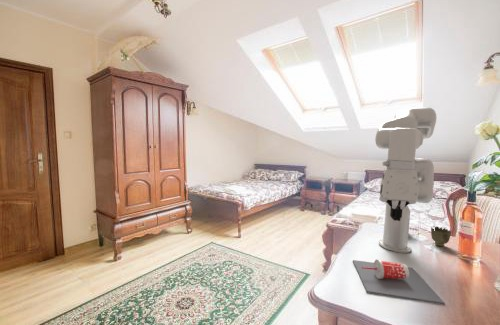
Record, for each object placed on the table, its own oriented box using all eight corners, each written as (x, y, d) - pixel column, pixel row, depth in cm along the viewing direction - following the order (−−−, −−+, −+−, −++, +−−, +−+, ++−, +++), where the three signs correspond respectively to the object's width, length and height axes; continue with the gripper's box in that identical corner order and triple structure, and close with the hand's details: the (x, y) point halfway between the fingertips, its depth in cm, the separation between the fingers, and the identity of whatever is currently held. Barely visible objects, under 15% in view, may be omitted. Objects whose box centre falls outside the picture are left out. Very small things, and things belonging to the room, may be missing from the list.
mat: (352, 261, 92) (352, 259, 92) (412, 269, 87) (412, 267, 87) (366, 292, 72) (367, 290, 72) (444, 304, 68) (444, 302, 68)
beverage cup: (398, 267, 83) (357, 263, 85) (405, 258, 79) (362, 254, 81) (405, 285, 78) (362, 280, 80) (412, 276, 75) (367, 271, 76)
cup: (443, 250, 105) (445, 232, 104) (425, 243, 112) (427, 227, 111) (453, 247, 108) (454, 231, 107) (435, 241, 115) (436, 225, 114)
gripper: (379, 166, 75) (374, 221, 77) (432, 168, 72) (426, 225, 74) (372, 163, 82) (368, 214, 84) (420, 165, 79) (415, 217, 81)
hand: (395, 219), depth 79 cm, fingers closed
